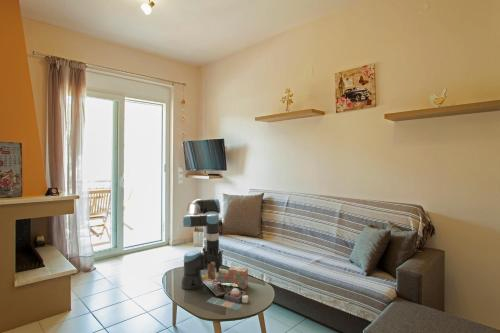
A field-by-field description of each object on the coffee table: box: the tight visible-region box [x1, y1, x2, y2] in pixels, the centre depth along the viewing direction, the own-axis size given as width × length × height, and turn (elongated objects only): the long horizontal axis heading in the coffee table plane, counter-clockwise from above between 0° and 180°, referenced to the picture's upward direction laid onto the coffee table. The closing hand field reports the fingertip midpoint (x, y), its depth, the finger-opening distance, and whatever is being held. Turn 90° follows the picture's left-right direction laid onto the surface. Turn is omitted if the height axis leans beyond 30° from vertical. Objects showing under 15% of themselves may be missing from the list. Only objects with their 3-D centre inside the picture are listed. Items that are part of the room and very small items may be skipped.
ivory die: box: [241, 294, 249, 304], centre depth 181 cm, size 3×3×3 cm
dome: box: [229, 287, 241, 297], centre depth 185 cm, size 7×7×5 cm
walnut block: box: [207, 262, 216, 280], centre depth 181 cm, size 4×4×9 cm
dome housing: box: [224, 288, 247, 304], centre depth 185 cm, size 10×10×3 cm
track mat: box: [206, 296, 243, 311], centre depth 178 cm, size 22×7×1 cm, turn 64°
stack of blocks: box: [215, 265, 249, 290], centre depth 204 cm, size 21×6×12 cm, turn 72°
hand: (212, 276), depth 181 cm, fingers closed on walnut block, 4 cm apart
